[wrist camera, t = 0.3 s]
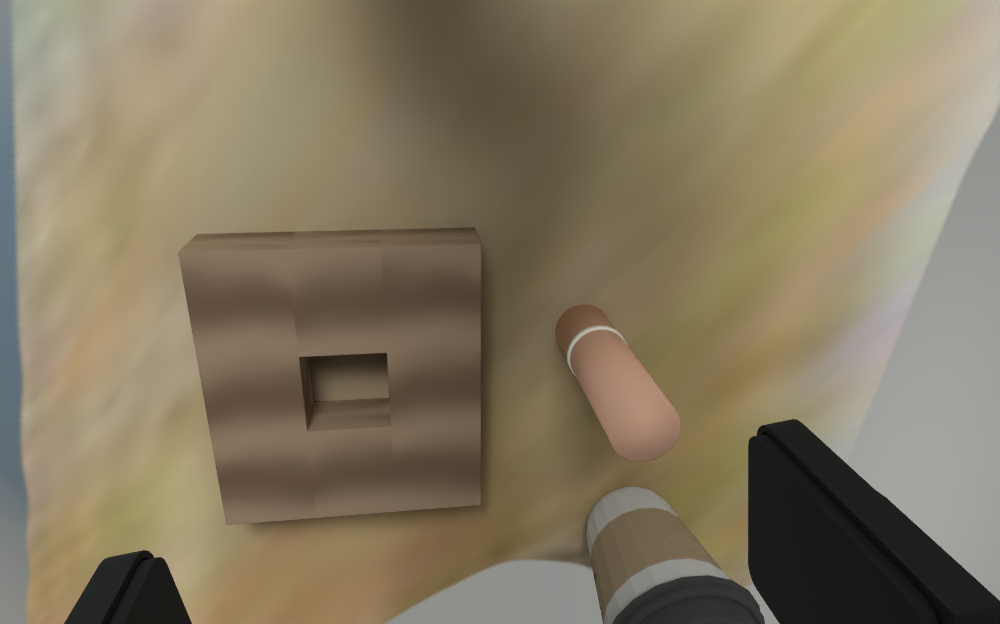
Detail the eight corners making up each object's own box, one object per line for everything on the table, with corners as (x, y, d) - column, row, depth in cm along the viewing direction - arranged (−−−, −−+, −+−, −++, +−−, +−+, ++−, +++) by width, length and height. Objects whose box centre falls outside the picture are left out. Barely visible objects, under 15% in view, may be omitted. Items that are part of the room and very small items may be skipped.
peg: (555, 304, 48) (611, 400, 36) (611, 302, 49) (686, 395, 36) (552, 356, 50) (606, 466, 37) (607, 354, 50) (677, 460, 38)
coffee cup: (534, 525, 56) (577, 684, 42) (638, 439, 54) (719, 576, 40) (615, 592, 60) (680, 757, 46) (715, 515, 58) (812, 662, 44)
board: (197, 234, 43) (178, 252, 39) (474, 227, 45) (481, 244, 42) (238, 490, 50) (226, 525, 47) (475, 472, 53) (480, 504, 49)
